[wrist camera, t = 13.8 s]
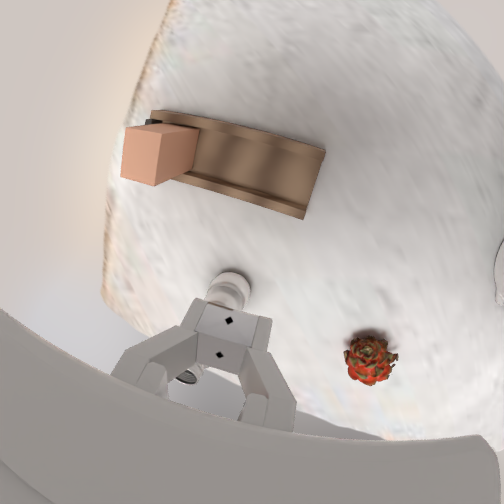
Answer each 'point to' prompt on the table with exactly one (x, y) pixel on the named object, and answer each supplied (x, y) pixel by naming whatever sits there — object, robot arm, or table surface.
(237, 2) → the table surface
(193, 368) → the plastic bottle
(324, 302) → the table surface
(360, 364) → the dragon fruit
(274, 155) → the chute
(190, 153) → the block
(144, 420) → the robot arm
